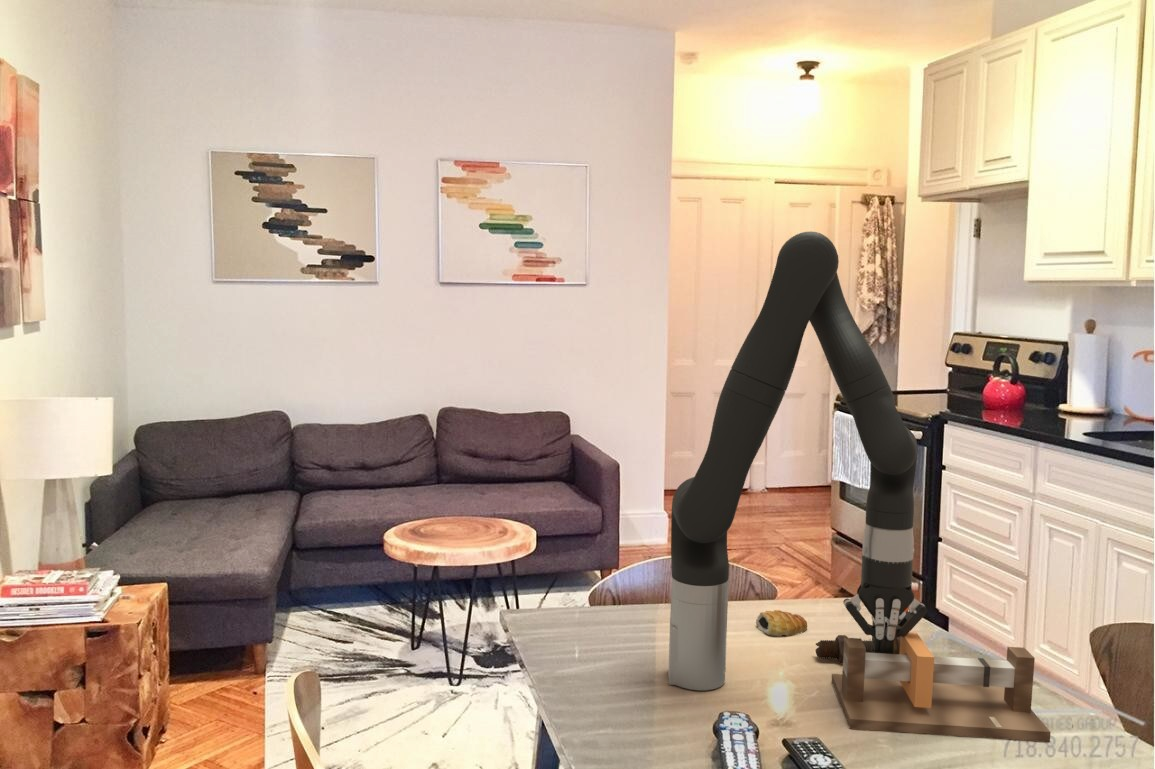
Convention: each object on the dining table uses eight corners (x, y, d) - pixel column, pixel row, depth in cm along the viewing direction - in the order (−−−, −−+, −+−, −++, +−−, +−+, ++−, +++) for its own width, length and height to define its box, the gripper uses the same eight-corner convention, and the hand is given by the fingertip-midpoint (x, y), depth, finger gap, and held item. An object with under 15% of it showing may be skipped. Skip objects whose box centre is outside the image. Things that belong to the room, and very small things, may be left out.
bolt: (815, 668, 160) (903, 669, 159) (820, 664, 155) (910, 666, 154) (812, 634, 162) (899, 635, 161) (817, 629, 158) (906, 631, 157)
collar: (914, 706, 135) (917, 656, 135) (898, 678, 145) (900, 631, 144) (931, 707, 135) (934, 657, 134) (913, 679, 145) (916, 632, 144)
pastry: (795, 622, 178) (796, 603, 177) (814, 635, 171) (815, 615, 171) (752, 626, 175) (753, 607, 174) (770, 640, 168) (771, 620, 168)
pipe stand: (849, 728, 134) (853, 663, 133) (831, 682, 150) (834, 623, 148) (1049, 741, 131) (1054, 674, 130) (1009, 693, 147) (1013, 633, 146)
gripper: (925, 548, 145) (919, 653, 147) (839, 544, 146) (835, 648, 148) (938, 562, 138) (932, 672, 139) (848, 558, 139) (843, 667, 141)
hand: (882, 660), depth 144 cm, fingers closed
